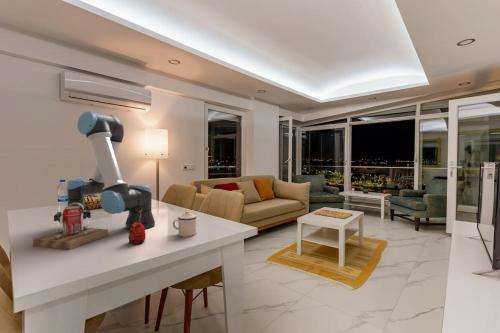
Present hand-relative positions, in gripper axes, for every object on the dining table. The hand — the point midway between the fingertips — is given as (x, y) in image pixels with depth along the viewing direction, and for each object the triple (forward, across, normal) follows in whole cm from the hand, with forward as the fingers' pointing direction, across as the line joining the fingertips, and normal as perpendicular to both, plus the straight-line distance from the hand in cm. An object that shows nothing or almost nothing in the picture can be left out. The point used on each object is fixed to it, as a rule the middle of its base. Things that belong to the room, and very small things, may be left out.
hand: (71, 220), depth 113 cm
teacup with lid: (+12, -47, -11) cm, 50 cm away
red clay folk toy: (+13, -25, -11) cm, 30 cm away
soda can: (-5, 0, -7) cm, 9 cm away
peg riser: (-5, 0, -10) cm, 12 cm away
